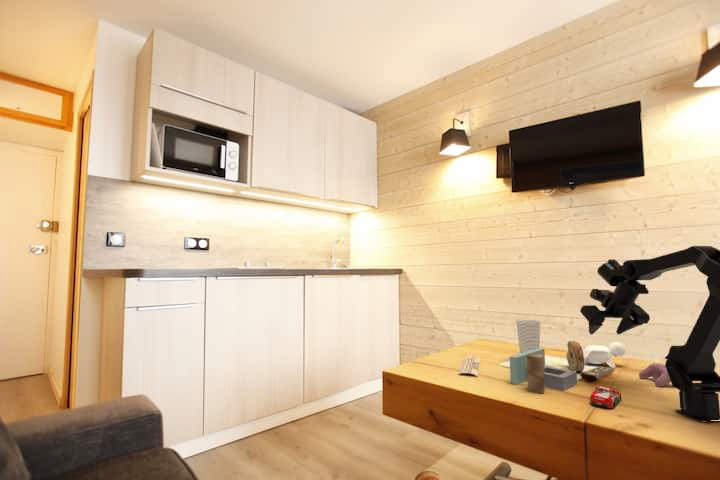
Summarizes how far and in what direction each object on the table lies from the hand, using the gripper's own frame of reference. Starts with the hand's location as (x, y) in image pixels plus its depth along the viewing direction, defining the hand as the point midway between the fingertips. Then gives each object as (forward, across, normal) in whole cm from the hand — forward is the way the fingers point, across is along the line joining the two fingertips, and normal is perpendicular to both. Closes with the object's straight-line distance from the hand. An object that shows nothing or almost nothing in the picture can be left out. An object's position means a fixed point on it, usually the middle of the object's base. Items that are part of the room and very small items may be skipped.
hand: (604, 333), depth 114 cm
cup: (+25, +13, -9) cm, 30 cm away
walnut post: (+6, +28, +16) cm, 33 cm away
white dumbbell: (+22, -12, -5) cm, 26 cm away
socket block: (+10, +20, +11) cm, 25 cm away
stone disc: (+18, +3, 0) cm, 18 cm away
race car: (+1, +15, +24) cm, 28 cm away
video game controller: (+9, -13, +12) cm, 20 cm away
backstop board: (+13, +24, +6) cm, 28 cm away
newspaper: (+22, +38, -4) cm, 44 cm away
